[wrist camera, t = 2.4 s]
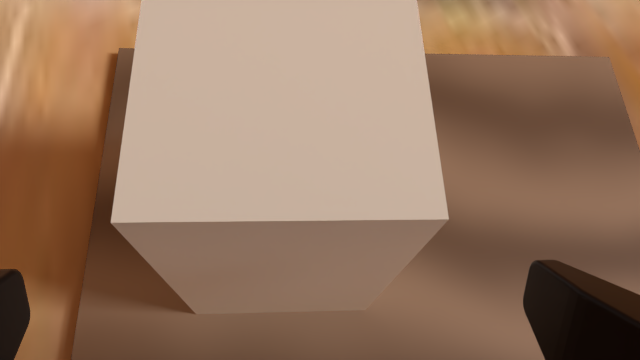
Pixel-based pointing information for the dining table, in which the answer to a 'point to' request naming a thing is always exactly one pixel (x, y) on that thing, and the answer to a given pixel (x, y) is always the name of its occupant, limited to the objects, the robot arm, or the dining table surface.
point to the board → (443, 248)
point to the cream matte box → (279, 151)
